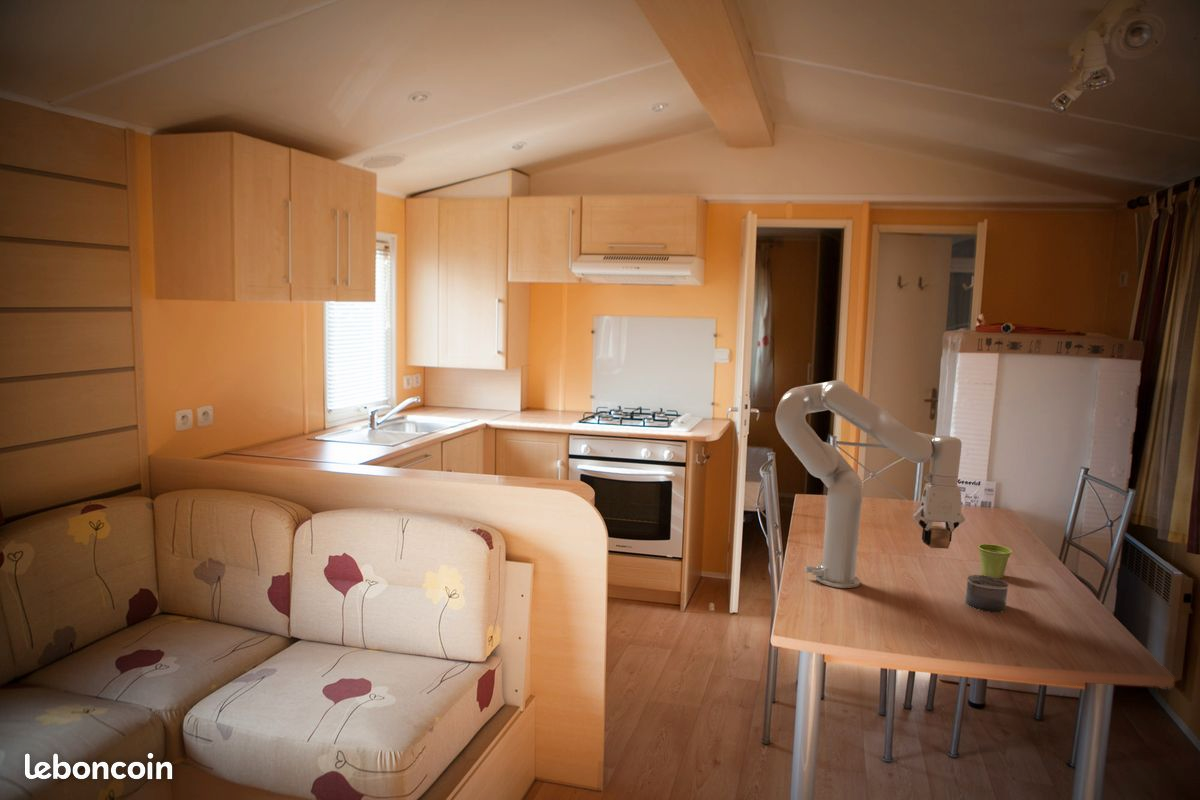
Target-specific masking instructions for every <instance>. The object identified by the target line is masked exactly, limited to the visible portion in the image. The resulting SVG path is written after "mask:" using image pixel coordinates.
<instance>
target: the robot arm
mask: <svg viewBox="0 0 1200 800" xmlns="http://www.w3.org/2000/svg"><path fill="white" fill-rule="evenodd" d="M825 411H830V412H831V413H833V414H835V415H836V416H837V417H840V418H841V419H842V420H845V421H846V422H848V423H849V424H851V425H853V426H854V427H856V428H858V429H859V430H861V432H864V433H865V434H866V435H868V436H869V437H871V438H873V439H874V440H876V441H877V442H879V443H880V444H882V445H883V446H885V447H886V448H888V449H889V450H891V451H893V452H895V453H896V454H897V455H899V456H901V457H902V458H904V459H905V460H908V461H909V462H911V463H914V464H922V463H926V462H927V461H928V460H929V461H930V462H929V463H930V464H929V472H927V473H928V474H927V475H924V476H923V480H924V481H927V482H926V483H925V485H924V487H923V491H922V495H921V498H920V499H921V500H920V504H919V508H918V509H917V511H915V512H914V514H913V515H912V516H911V518H912V519H914V520H915V521H916V523H918V524H919V526H920V527H921V528H922V534H921V540H922V543H923V542H924V544H925V545H926V544H927V545H926V546H928V545H929V544H930V537H931V531H930V527H931V526H933V525H932V524H933V522H935V523H937V522H939V523H944V525H945V527H944V528H946V529H948V530H949V531H951V532H950V541H949V546H950V545H951V541H952V535H953V532H955V530H956V529H957V527H958V528H959V526H960V525H962V523H964V522H965V521H966V518H965V517H964V515H963V513H962V492H961V487H960V486H959V485H958V482H959V471H960V463H961V455H962V454H961V453H962V444H963V443H962V440H961V439H960V438H958V437H955V436H950V435H934V434H929V433H926V432H925V433H924V432H919V431H914V430H912V429H910V428H908V427H907V426H905V424H902V423H901V422H900V421H898V420H897V419H895V418H894V417H893V416H892V414H890V413H889V411H887V410H886V409H885V408H883V407H882V406H880V405H879V404H877V403H876V402H874V401H872V400H870V399H869V398H867V397H865V396H863V395H862V394H861V393H859V392H857V391H856V390H854V389H852V388H851V387H850V386H849V385H848V384H847V383H846V382H844V381H843V380H838V379H837V380H830V381H825V382H819V383H813V384H807V385H800V386H796V387H793V388H791V389H789V390H788V391H786V392H785V393H784V394H783V395H782V396H781V399H780V401H779V403H778V405H777V408H776V411H775V420H774V421H775V427H776V429H777V431H778V433H779V435H780V436H781V439H782V440H783V441H784V442H785V444H786V445H787V446H788V447H789V448H790V449H791V451H792V453H794V456H796V458H797V459H798V460H799V461H800V462H801V463H802V465H803V466H804V467H805V469H806V470H807V472H808V473H809V474H810V475H811V476H813V477H814V478H816V479H817V478H818V479H820V480H821V482H822V483H823V484H824V485H825V487H826V488H827V495H826V507H825V509H826V510H825V511H826V512H825V520H824V521H825V522H824V538H823V548H822V549H823V550H822V562H818V564H817V565H815V566H812V565H805V567H804V571H805V573H809V574H811V575H813V576H814V575H815V580H816V581H817V582H819V583H821V584H823V585H825V586H829V587H831V588H832V587H833V588H839V589H853V588H854V589H855V588H857V587H859V586H861V585H860V584H861V579H860V578H859V577H858V576H856V569H857V560H858V559H857V558H858V545H859V536H860V535H859V534H860V526H861V525H860V523H861V513H862V505H863V497H864V495H863V494H864V493H863V492H864V491H863V489H864V488H863V481H862V479H861V477H860V476H859V474H858V473H857V472H856V471H855V469H854V468H853V466H851V465H850V464H849V462H848V461H847V459H845V458H844V456H843V455H842V454H841V453H840V451H838V449H837V448H836V447H835V446H834V445H833V444H831V443H829V442H826V441H823V440H822V439H821V438H820V436H818V434H817V433H816V431H815V429H813V428H812V426H810V425H809V423H808V422H807V420H806V416H807V414H811V413H812V414H813V413H818V412H825ZM921 518H923V519H921Z"/></svg>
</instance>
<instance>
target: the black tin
mask: <svg viewBox="0 0 1200 800" xmlns="http://www.w3.org/2000/svg"><path fill="white" fill-rule="evenodd" d="M966 579H967V584H966V592H965V593H966V594H965V601H964V603H965V602H966V603H965V604H966V605H967V604H968V605H969V606H968V605H967V606H968V607H970V606H971V607H970V608H972V607H974V608H976V609H975V610H977V609H980V610H979V611H981V610H983V611H982V612H986V611H990V612H989V613H995V612H997V613H1002V612H1001V611H1003V612H1005V611H1006V609H1007V608H1006V605H1007V598H1008V591H1009V590H1008V589H1009V583H1008V582H1007V581H1005V580H1003V579H1002V578H995V577H990V576H984V575H982V574H981V575H980V574H972V575H968V576H967V578H966ZM974 608H973V609H974ZM1004 610H1005V611H1004Z"/></svg>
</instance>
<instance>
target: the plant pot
mask: <svg viewBox="0 0 1200 800" xmlns="http://www.w3.org/2000/svg"><path fill="white" fill-rule="evenodd" d="M977 547H978V550H979V553H980V554H979V555H980V568H981V571H980V572H981V575H982V574H983V575H985V576H990V577H995V578H998V579H1002V577H1003V578H1004V576H1005V572H1006V568H1007V563H1008V561H1009V558H1010V555H1011V554H1012V553H1013V550H1012V549H1011V548H1008V547H1006V546H1002V545H999V544H998V545H997V544H990V543H981V544H979V545H977Z"/></svg>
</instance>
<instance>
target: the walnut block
mask: <svg viewBox="0 0 1200 800" xmlns="http://www.w3.org/2000/svg"><path fill="white" fill-rule="evenodd" d="M930 531H931V537H930V544H929V545H927V544H925V543H924V542H923V541H922V543H924V544H925V545H926V546H927V547H929V548H931V549H950V545H949V541H950V532H951V531H949V530H948V529H946V527H944V526H942V525H931V527H930Z"/></svg>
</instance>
